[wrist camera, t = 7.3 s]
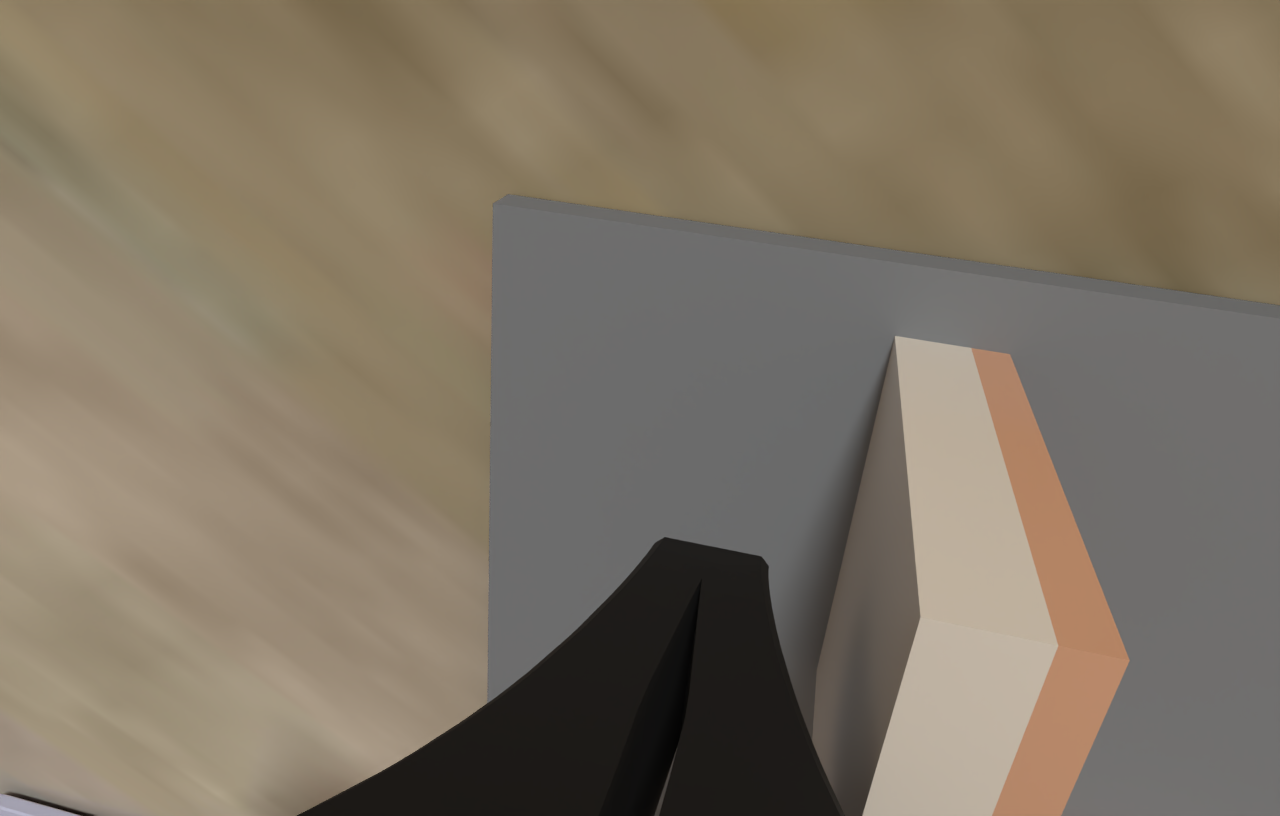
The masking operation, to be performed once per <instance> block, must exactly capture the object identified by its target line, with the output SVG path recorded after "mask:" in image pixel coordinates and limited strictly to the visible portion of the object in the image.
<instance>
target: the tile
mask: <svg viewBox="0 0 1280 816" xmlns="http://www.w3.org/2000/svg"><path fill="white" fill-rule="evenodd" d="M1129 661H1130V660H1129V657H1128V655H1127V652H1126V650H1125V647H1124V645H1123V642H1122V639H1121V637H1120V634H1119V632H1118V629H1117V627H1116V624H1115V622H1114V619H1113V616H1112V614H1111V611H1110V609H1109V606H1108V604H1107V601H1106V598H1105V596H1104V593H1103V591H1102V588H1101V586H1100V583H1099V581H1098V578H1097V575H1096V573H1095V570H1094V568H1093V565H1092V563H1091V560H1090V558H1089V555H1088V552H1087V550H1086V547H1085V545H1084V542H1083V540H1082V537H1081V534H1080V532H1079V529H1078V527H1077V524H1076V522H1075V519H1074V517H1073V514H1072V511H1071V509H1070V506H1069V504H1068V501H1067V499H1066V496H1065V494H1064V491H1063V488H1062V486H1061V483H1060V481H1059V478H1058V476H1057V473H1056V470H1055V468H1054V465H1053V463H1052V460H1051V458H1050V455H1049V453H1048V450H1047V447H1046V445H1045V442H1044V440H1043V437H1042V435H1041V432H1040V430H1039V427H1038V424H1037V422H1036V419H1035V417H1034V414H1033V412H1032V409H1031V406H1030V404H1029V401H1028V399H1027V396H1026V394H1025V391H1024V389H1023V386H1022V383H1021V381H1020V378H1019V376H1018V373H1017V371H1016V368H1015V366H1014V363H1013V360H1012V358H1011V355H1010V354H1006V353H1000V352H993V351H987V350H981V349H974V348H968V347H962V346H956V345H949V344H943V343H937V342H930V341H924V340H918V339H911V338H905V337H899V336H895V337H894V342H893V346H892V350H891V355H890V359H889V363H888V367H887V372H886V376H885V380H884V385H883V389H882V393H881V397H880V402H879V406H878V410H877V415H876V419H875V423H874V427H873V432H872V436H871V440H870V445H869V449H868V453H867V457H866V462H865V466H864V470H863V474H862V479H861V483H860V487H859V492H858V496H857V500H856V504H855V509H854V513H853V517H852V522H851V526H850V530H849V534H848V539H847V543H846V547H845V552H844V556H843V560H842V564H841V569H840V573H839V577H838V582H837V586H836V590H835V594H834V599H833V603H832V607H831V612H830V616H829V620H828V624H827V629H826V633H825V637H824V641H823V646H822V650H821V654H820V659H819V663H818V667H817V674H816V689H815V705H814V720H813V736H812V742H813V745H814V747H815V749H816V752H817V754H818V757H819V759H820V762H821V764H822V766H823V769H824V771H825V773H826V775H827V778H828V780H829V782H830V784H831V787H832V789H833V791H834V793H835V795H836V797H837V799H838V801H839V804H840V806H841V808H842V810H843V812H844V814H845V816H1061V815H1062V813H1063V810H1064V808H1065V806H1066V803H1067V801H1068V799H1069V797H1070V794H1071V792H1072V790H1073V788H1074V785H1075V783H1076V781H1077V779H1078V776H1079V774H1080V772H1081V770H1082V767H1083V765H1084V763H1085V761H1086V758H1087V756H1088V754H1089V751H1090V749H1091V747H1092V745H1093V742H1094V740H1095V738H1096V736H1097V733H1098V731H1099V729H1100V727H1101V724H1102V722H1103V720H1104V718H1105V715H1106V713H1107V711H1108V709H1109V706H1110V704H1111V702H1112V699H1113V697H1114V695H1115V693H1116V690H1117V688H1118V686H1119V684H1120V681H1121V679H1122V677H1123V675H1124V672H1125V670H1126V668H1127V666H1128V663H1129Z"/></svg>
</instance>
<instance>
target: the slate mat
mask: <svg viewBox="0 0 1280 816" xmlns="http://www.w3.org/2000/svg"><path fill="white" fill-rule="evenodd" d="M895 336H899V337H905V338H911V339H918V340H924V341H930V342H937V343H943V344H949V345H956V346H962V347H968V348H974V349H981V350H987V351H993V352H1000V353H1006V354H1010V355H1011V358H1012V360H1013V363H1014V366H1015V368H1016V371H1017V373H1018V376H1019V378H1020V381H1021V383H1022V386H1023V389H1024V391H1025V394H1026V396H1027V399H1028V401H1029V404H1030V406H1031V409H1032V412H1033V414H1034V417H1035V419H1036V422H1037V424H1038V427H1039V430H1040V432H1041V435H1042V437H1043V440H1044V442H1045V445H1046V447H1047V450H1048V453H1049V455H1050V458H1051V460H1052V463H1053V465H1054V468H1055V470H1056V473H1057V476H1058V478H1059V481H1060V483H1061V486H1062V488H1063V491H1064V494H1065V496H1066V499H1067V501H1068V504H1069V506H1070V509H1071V511H1072V514H1073V517H1074V519H1075V522H1076V524H1077V527H1078V529H1079V532H1080V534H1081V537H1082V540H1083V542H1084V545H1085V547H1086V550H1087V552H1088V555H1089V558H1090V560H1091V563H1092V565H1093V568H1094V570H1095V573H1096V575H1097V578H1098V581H1099V583H1100V586H1101V588H1102V591H1103V593H1104V596H1105V598H1106V601H1107V604H1108V606H1109V609H1110V611H1111V614H1112V616H1113V619H1114V622H1115V624H1116V627H1117V629H1118V632H1119V634H1120V637H1121V639H1122V642H1123V645H1124V647H1125V650H1126V652H1127V655H1128V657H1129V660H1130V661H1129V663H1128V666H1127V668H1126V670H1125V672H1124V675H1123V677H1122V679H1121V681H1120V684H1119V686H1118V688H1117V690H1116V693H1115V695H1114V697H1113V699H1112V702H1111V704H1110V706H1109V709H1108V711H1107V713H1106V715H1105V718H1104V720H1103V722H1102V724H1101V727H1100V729H1099V731H1098V733H1097V736H1096V738H1095V740H1094V742H1093V745H1092V747H1091V749H1090V751H1089V754H1088V756H1087V758H1086V761H1085V763H1084V765H1083V767H1082V770H1081V772H1080V774H1079V776H1078V779H1077V781H1076V783H1075V785H1074V788H1073V790H1072V792H1071V794H1070V797H1069V799H1068V801H1067V803H1066V806H1065V808H1064V810H1063V813H1062V815H1061V816H1280V306H1279V305H1272V304H1266V303H1259V302H1252V301H1245V300H1238V299H1231V298H1224V297H1217V296H1210V295H1203V294H1196V293H1189V292H1182V291H1175V290H1168V289H1161V288H1155V287H1148V286H1141V285H1134V284H1127V283H1120V282H1113V281H1106V280H1099V279H1092V278H1085V277H1078V276H1071V275H1064V274H1057V273H1050V272H1044V271H1037V270H1030V269H1023V268H1016V267H1009V266H1002V265H995V264H988V263H981V262H974V261H967V260H960V259H953V258H946V257H939V256H933V255H926V254H919V253H912V252H905V251H898V250H891V249H884V248H877V247H870V246H863V245H856V244H849V243H842V242H835V241H828V240H822V239H815V238H808V237H801V236H794V235H787V234H780V233H773V232H766V231H759V230H752V229H745V228H738V227H731V226H724V225H717V224H710V223H704V222H697V221H690V220H683V219H676V218H669V217H662V216H655V215H648V214H641V213H634V212H627V211H620V210H613V209H606V208H599V207H593V206H586V205H579V204H572V203H565V202H558V201H551V200H544V199H537V198H530V197H523V196H516V195H509V194H508V195H506V196H504V197H503V198H501V199H500V200H498V201H496V202H495V203H493V252H492V343H491V433H490V524H489V614H488V703H489V702H490V701H491V700H493V699H494V698H495V697H497V696H498V695H499V694H501V693H502V692H503V691H505V690H506V689H507V688H509V687H510V686H511V685H512V684H514V683H515V682H516V681H517V680H519V679H520V678H521V677H522V676H524V675H525V674H526V673H527V672H529V671H530V670H531V669H532V668H533V667H534V666H536V665H537V664H538V663H539V662H540V661H541V660H542V659H544V658H545V657H546V656H547V655H548V654H549V653H550V652H552V651H553V650H554V649H555V648H556V647H557V646H558V645H560V644H561V643H562V642H563V641H564V640H565V639H567V638H568V637H569V636H570V635H571V634H572V633H573V632H574V631H575V630H576V629H577V628H578V627H579V626H580V625H581V624H582V623H583V622H584V621H585V620H586V619H587V618H588V617H589V616H590V615H591V614H592V613H593V612H594V611H595V610H596V609H597V608H598V607H599V606H600V605H601V604H602V603H603V602H604V601H605V600H606V599H608V598H609V596H610V595H611V594H612V593H613V592H614V591H615V590H616V589H617V588H618V587H619V586H620V585H621V583H622V582H623V581H624V580H625V579H626V578H627V577H628V576H629V575H630V573H631V572H632V571H633V570H634V569H635V568H636V566H637V565H638V564H639V563H640V562H641V560H642V559H643V558H644V557H645V555H646V554H647V553H648V552H649V550H650V549H651V547H652V546H653V545H654V543H655V542H657V541H659V540H660V539H662V538H664V537H668V538H673V539H678V540H683V541H688V542H693V543H698V544H703V545H708V546H713V547H718V548H722V549H727V550H732V551H737V552H742V553H747V554H752V555H757V556H762V558H763V559H764V560H765V562H766V563H767V564H768V566H769V589H770V597H771V603H772V610H773V614H774V619H775V624H776V629H777V633H778V637H779V641H780V645H781V649H782V652H783V656H784V659H785V663H786V666H787V669H788V673H789V676H790V680H791V683H792V686H793V689H794V692H795V695H796V698H797V701H798V704H799V707H800V710H801V713H802V715H803V718H804V721H805V723H806V726H807V729H808V731H809V734H810V737H811V739H812V736H813V720H814V705H815V689H816V674H817V667H818V663H819V659H820V654H821V650H822V646H823V641H824V637H825V633H826V629H827V624H828V620H829V616H830V612H831V607H832V603H833V599H834V594H835V590H836V586H837V582H838V577H839V573H840V569H841V564H842V560H843V556H844V552H845V547H846V543H847V539H848V534H849V530H850V526H851V522H852V517H853V513H854V509H855V504H856V500H857V496H858V492H859V487H860V483H861V479H862V474H863V470H864V466H865V462H866V457H867V453H868V449H869V445H870V440H871V436H872V432H873V427H874V423H875V419H876V415H877V410H878V406H879V402H880V397H881V393H882V389H883V385H884V380H885V376H886V372H887V367H888V363H889V359H890V355H891V350H892V346H893V342H894V337H895ZM677 747H678V746H677ZM676 751H677V749H676ZM675 755H676V752H675ZM674 758H675V756H674ZM673 762H674V759H673ZM673 762H672V765H671V768H670V771H669V774H668V777H667V780H666V783H665V786H664V789H663V792H662V795H661V797H660V800H659V803H658V806H657V809H656V812H655V815H654V816H659V814H660V810H661V807H662V803H663V799H664V796H665V792H666V788H667V785H668V781H669V777H670V773H671V770H672V766H673Z"/></svg>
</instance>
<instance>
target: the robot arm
mask: <svg viewBox="0 0 1280 816" xmlns="http://www.w3.org/2000/svg"><path fill="white" fill-rule="evenodd" d="M677 746H678V747H677ZM676 749H677V751H676ZM675 752H676V755H675ZM674 756H675V758H674ZM673 759H674V762H673ZM672 762H673V766H672V770H671V773H670V777H669V781H668V785H667V788H666V792H665V796H664V799H663V803H662V807H661V810H660V814H659V816H845V814H844V812H843V810H842V808H841V806H840V804H839V801H838V799H837V797H836V795H835V793H834V791H833V789H832V787H831V784H830V782H829V780H828V778H827V775H826V773H825V771H824V769H823V766H822V764H821V762H820V759H819V757H818V754H817V752H816V749H815V747H814V745H813V742H812V739H811V737H810V734H809V731H808V729H807V726H806V723H805V721H804V718H803V715H802V713H801V710H800V707H799V704H798V701H797V698H796V695H795V692H794V689H793V686H792V683H791V680H790V676H789V673H788V669H787V666H786V663H785V659H784V656H783V652H782V649H781V645H780V641H779V637H778V633H777V629H776V624H775V619H774V614H773V610H772V603H771V597H770V589H769V566H768V564H767V563H766V562H765V560H764V559H763V558H762V556H757V555H752V554H747V553H742V552H737V551H732V550H727V549H722V548H718V547H713V546H708V545H703V544H698V543H693V542H688V541H683V540H678V539H673V538H668V537H664V538H662V539H660V540H659V541H657V542H655V543H654V545H653V546H652V547H651V549H650V550H649V552H648V553H647V554H646V555H645V557H644V558H643V559H642V560H641V562H640V563H639V564H638V565H637V566H636V568H635V569H634V570H633V571H632V572H631V573H630V575H629V576H628V577H627V578H626V579H625V580H624V581H623V582H622V583H621V585H620V586H619V587H618V588H617V589H616V590H615V591H614V592H613V593H612V594H611V595H610V596H609V598H608V599H606V600H605V601H604V602H603V603H602V604H601V605H600V606H599V607H598V608H597V609H596V610H595V611H594V612H593V613H592V614H591V615H590V616H589V617H588V618H587V619H586V620H585V621H584V622H583V623H582V624H581V625H580V626H579V627H578V628H577V629H576V630H575V631H574V632H573V633H572V634H571V635H570V636H569V637H568V638H567V639H565V640H564V641H563V642H562V643H561V644H560V645H558V646H557V647H556V648H555V649H554V650H553V651H552V652H550V653H549V654H548V655H547V656H546V657H545V658H544V659H542V660H541V661H540V662H539V663H538V664H537V665H536V666H534V667H533V668H532V669H531V670H530V671H529V672H527V673H526V674H525V675H524V676H522V677H521V678H520V679H519V680H517V681H516V682H515V683H514V684H512V685H511V686H510V687H509V688H507V689H506V690H505V691H503V692H502V693H501V694H499V695H498V696H497V697H495V698H494V699H493V700H491V701H490V702H489V703H487V704H486V705H484V706H483V707H482V708H480V709H479V710H477V711H476V712H475V713H473V714H472V715H470V716H469V717H468V718H466V719H465V720H463V721H462V722H460V723H459V724H457V725H456V726H454V727H453V728H451V729H450V730H448V731H446V732H445V733H443V734H442V735H440V736H439V737H437V738H436V739H434V740H432V741H431V742H429V743H428V744H426V745H425V746H423V747H422V748H420V749H418V750H417V751H415V752H414V753H412V754H410V755H409V756H407V757H405V758H404V759H402V760H400V761H399V762H397V763H395V764H394V765H392V766H390V767H388V768H387V769H385V770H383V771H381V772H380V773H378V774H376V775H374V776H372V777H370V778H368V779H366V780H364V781H362V782H361V783H359V784H357V785H355V786H353V787H351V788H349V789H347V790H345V791H343V792H341V793H340V794H338V795H336V796H334V797H332V798H330V799H328V800H326V801H324V802H322V803H320V804H319V805H317V806H315V807H313V808H311V809H309V810H307V811H305V812H303V813H301V814H299V815H297V816H654V815H655V812H656V809H657V806H658V803H659V800H660V797H661V795H662V792H663V789H664V786H665V783H666V780H667V777H668V774H669V771H670V768H671V765H672ZM0 816H81V815H78V814H74V813H71V812H67V811H64V810H60V809H57V808H53V807H49V806H46V805H42V804H39V803H35V802H32V801H28V800H25V799H21V798H18V797H14V796H11V795H7V794H0Z"/></svg>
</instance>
